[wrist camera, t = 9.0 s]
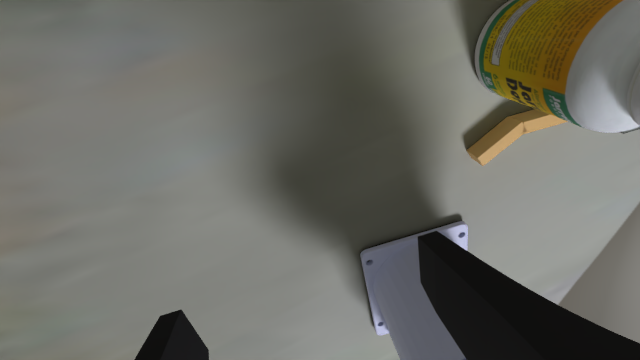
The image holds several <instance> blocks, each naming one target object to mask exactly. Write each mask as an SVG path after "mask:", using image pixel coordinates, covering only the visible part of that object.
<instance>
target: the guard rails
mask: <svg viewBox="0 0 640 360" xmlns="http://www.w3.org/2000/svg"><path fill="white" fill-rule="evenodd" d="M565 122H568V121H566V120H563V119H561V118H558V117H556V116H553V115H550V114H547V113H545V112H542V111H539V110H536V109H534V110H530V111H526V112H523V113H519V114H516V115H512V116H508V117H506V118H505V119H504V120H503V121H501V122H500V123H499V124H498V125H497V126H495V127H494V128H493V129H492V130H491V131H489V132H488V133H487V134H486V135H484V136H483V137H482V138H481V139H480V140H478V141H477V142H476V143H475V144H474V145H472V146H471V147H470V148H469V149H467V150H466V151H467V152H468V154H469V155H470V156H471V158H472V159H474V160H475V161H477V162H478V163H479V164H481V165H482V166H484V165H485V164H486V163H488V162H489V161H490V160H491V159H493V158H494V157H495V156H496V155H498V154H499V153H500V152H501V151H503V150H504V149H505V148H506V147H508V146H509V145H510V144H511V143H513V142H514V141H515V140H516V139H518V138H519V137H520V136H521V135H523V134H526V133H529V132H533V131H536V130H540V129H544V128H547V127H551V126H554V125H558V124H561V123H565Z"/></svg>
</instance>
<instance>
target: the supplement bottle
mask: <svg viewBox="0 0 640 360" xmlns="http://www.w3.org/2000/svg"><path fill="white" fill-rule="evenodd" d="M475 68H476V72H477V75H478V78H479V80H480V82H481V84H482V85H483V86H484V87H485V88H486V89H488V90H489V91H491V92H493V93H495V94H497V95H500V96H502V97H505V98H507V99H510V100H513V101H516V102H518V103H520V104H523V105H526V106H529V107H531V108H534V109H536V110H539V111H542V112H545V113H547V114H550V115H553V116H556V117H558V118H561V119H563V120H566V121H568V122H571V123H573V124H576V125H578V126H580V127H583V128H587V129H590V130H593V131H598V132H605V133H613V132H622V131H628V130H631V129H634V128H638V127H640V0H510V1H508V2H506V3H505V4H504V5H502V6H501V7H500V8H499V9H497V10H496V11H495V13H494V14H493V15H492V16H491V17H490V18H489V20H488V21H487V23H486V24H485V26H484V28H483V29H482V31H481V34H480V36H479V38H478V42H477V45H476V50H475Z"/></svg>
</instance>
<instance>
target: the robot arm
mask: <svg viewBox="0 0 640 360" xmlns="http://www.w3.org/2000/svg"><path fill="white" fill-rule="evenodd" d="M460 233H461V234H460ZM467 246H468V226H467V224H466V223H465V222H463V221H459V222H456V223H452V224H449V225H446V226H442V227H439V228H435V229H432V230H429V231H425V232H422V233H419V234H415V235H412V236H409V237H405V238H402V239H398V240H395V241H392V242H388V243H385V244H382V245H378V246H375V247H372V248H368V249H365V250H363V251H362V252H361V254H360V257H361V262H362V267H363V272H364V277H365V282H366V287H367V292H368V297H369V302H370V307H371V312H372V317H373V322H374V327H375V331H376V333H377V335H384V334H387V333H389V334H390V336H391V338H392V341H393V343H394V346H395V348H396V350H397V353H398V355H399V357H400V360H640V344H639V343H637V342H635V341H633V340H630V339H628V338H626V337H623V336H621V335H618V334H616V333H614V332H612V331H610V330H607V329H605V328H603V327H601V326H599V325H596V324H595V323H593V322H591V321H588V320H586V319H584V318H582V317H580V316H578V315H576V314H574V313H572V312H570V311H568V310H566V309H564V308H562V307H560V306H558V305H557V304H555V303H553V302H551V301H549V300H547V299H546V298H544V297H542V296H540V295H538V294H537V293H535V292H533V291H531V290H529V289H528V288H526V287H524V286H522V285H521V284H519V283H517V282H516V281H514V280H512V279H511V278H509V277H507V276H506V275H504V274H502V273H501V272H499V271H498V270H496V269H494V268H493V267H491V266H489V265H488V264H486V263H485V262H483V261H482V260H480V259H479V258H477V257H476V256H474V255H472V254H471V253H469V252H468V251H467ZM368 260H370V261H368ZM367 261H368V262H367ZM135 360H209V352H208V349H207V347H206V346H205V344H204V343H203V341H202V340H201V338H200V337H199V335H198V334H197V332H196V331H195V329H194V328H193V326H192V325H191V323H190V322H189V320H188V319H187V317H186V316H185V314H184V313H183V311H182V310H178V311H175V312H172V313H169V314H165V315H162V316H160V317H159V319H158V321H157V322H156V324H155V326H154V327H153V329H152V331H151V332H150V334H149V336H148V337H147V339H146V341H145V343H144V344H143V346H142V348H141V349H140V351H139V353H138V355H137V356H136V358H135Z"/></svg>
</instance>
